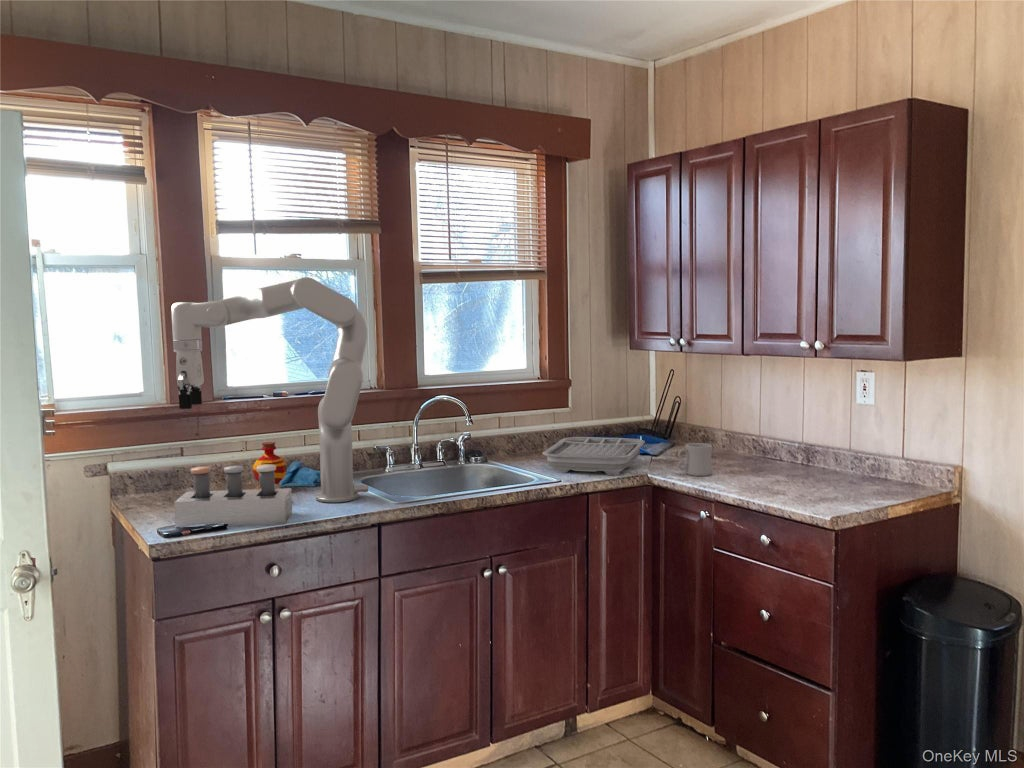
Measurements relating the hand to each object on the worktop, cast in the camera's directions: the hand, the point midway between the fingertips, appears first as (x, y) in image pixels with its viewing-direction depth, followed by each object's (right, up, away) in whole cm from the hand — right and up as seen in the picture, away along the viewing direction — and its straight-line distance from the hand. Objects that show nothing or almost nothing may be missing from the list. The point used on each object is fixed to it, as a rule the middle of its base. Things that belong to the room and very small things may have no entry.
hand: (190, 406), depth 232 cm
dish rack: (+121, -24, +60) cm, 137 cm away
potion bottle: (+15, -27, +26) cm, 40 cm away
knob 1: (+8, -24, -13) cm, 28 cm away
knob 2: (+25, -24, -11) cm, 36 cm away
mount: (+17, -30, -11) cm, 36 cm away
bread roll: (+19, -29, +8) cm, 36 cm away
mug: (+153, -24, +45) cm, 161 cm away
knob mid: (+17, -24, -12) cm, 31 cm away
